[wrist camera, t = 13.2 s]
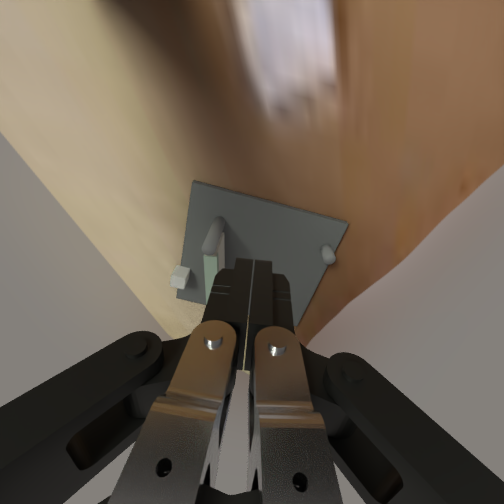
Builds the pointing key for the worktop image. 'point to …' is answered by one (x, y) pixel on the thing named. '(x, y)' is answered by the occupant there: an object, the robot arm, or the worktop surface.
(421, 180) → the worktop surface
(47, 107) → the worktop surface
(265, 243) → the gate frame
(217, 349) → the robot arm
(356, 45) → the worktop surface
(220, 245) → the gate
